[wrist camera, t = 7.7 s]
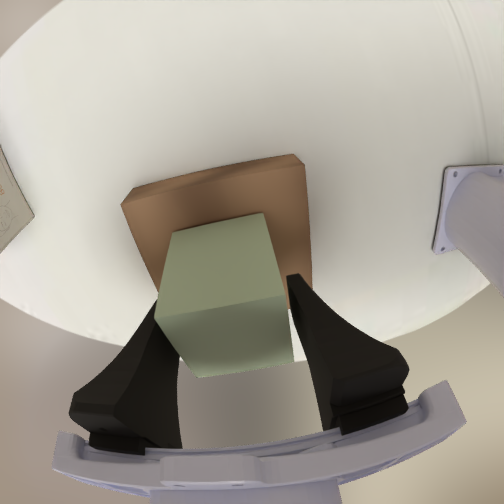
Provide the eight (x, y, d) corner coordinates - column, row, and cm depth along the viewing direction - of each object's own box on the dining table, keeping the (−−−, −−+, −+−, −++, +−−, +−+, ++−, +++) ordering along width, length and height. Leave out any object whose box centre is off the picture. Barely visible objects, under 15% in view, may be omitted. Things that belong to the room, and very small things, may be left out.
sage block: (263, 212, 14) (285, 294, 10) (275, 280, 18) (294, 362, 13) (172, 232, 15) (153, 317, 10) (199, 295, 18) (196, 377, 13)
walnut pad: (291, 151, 16) (304, 165, 14) (303, 277, 22) (312, 303, 19) (135, 185, 16) (120, 204, 14) (180, 300, 22) (176, 328, 19)
